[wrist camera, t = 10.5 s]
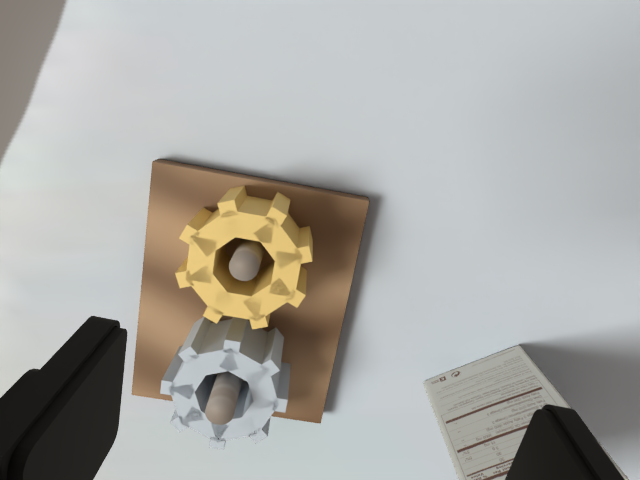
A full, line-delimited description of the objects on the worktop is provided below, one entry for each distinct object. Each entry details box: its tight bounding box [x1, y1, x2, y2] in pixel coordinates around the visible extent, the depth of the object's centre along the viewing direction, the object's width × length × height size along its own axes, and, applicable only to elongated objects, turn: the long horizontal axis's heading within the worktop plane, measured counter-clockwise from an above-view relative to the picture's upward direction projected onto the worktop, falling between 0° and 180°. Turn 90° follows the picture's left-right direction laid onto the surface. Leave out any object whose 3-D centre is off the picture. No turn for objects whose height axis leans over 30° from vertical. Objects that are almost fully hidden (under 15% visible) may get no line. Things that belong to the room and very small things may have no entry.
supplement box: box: [423, 345, 629, 480], centre depth 29 cm, size 7×7×13 cm
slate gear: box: [160, 317, 291, 450], centre depth 31 cm, size 7×7×4 cm
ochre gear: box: [175, 186, 313, 330], centre depth 29 cm, size 7×7×4 cm
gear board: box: [132, 159, 369, 425], centre depth 30 cm, size 16×13×7 cm
